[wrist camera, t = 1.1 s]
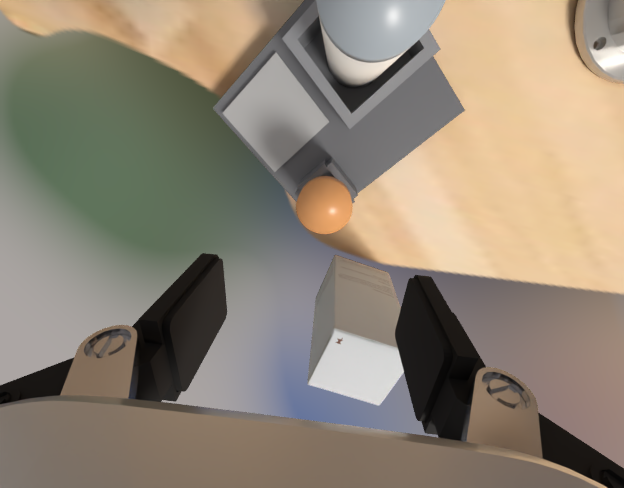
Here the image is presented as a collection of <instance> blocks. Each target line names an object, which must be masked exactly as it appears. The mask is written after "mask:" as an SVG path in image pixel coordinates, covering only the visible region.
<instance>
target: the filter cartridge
mask: <svg viewBox="0 0 624 488" xmlns="http://www.w3.org/2000/svg"><path fill="white" fill-rule="evenodd" d="M316 3H317V8H318V13H319V19H320V24H321V30H322V35H323V41H324V46H325V51H326V57H327V62H328V66H329V69H330V72H331V74H332V75H333V77H334V78H335V79H336V80H337V81H338V82H339V83H340V84H342V85H344V86H346V87H349V88H361V87H364V86H366V85H368V84H370V83H371V82H373V81H374V80H375V79H376V78H377V77H378V76H379V75H381V74H382V73H383V72H384V71H385V70H386V69H387V68H388V67H389V66H390V65H392V64H393V63H394V62H395V61H396V60H397V59H398V58H399V57H400V56H401V55H403V54H404V53H405V52H406V51H407V50H408V49H409V48H410V47H411V46H412V45H414V44H415V43H416V42H417V41H418V40H419V39H420V38H421V37H422V36H423V35H424V34H425V33H426V32H427V31H428V29H429V28H430V27H431V25H432V24H433V23H434V21H435V19H436V18H437V16H438V15H439V13H440V11H441V9H442V7H443V5H444V3H445V0H316Z"/></svg>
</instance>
